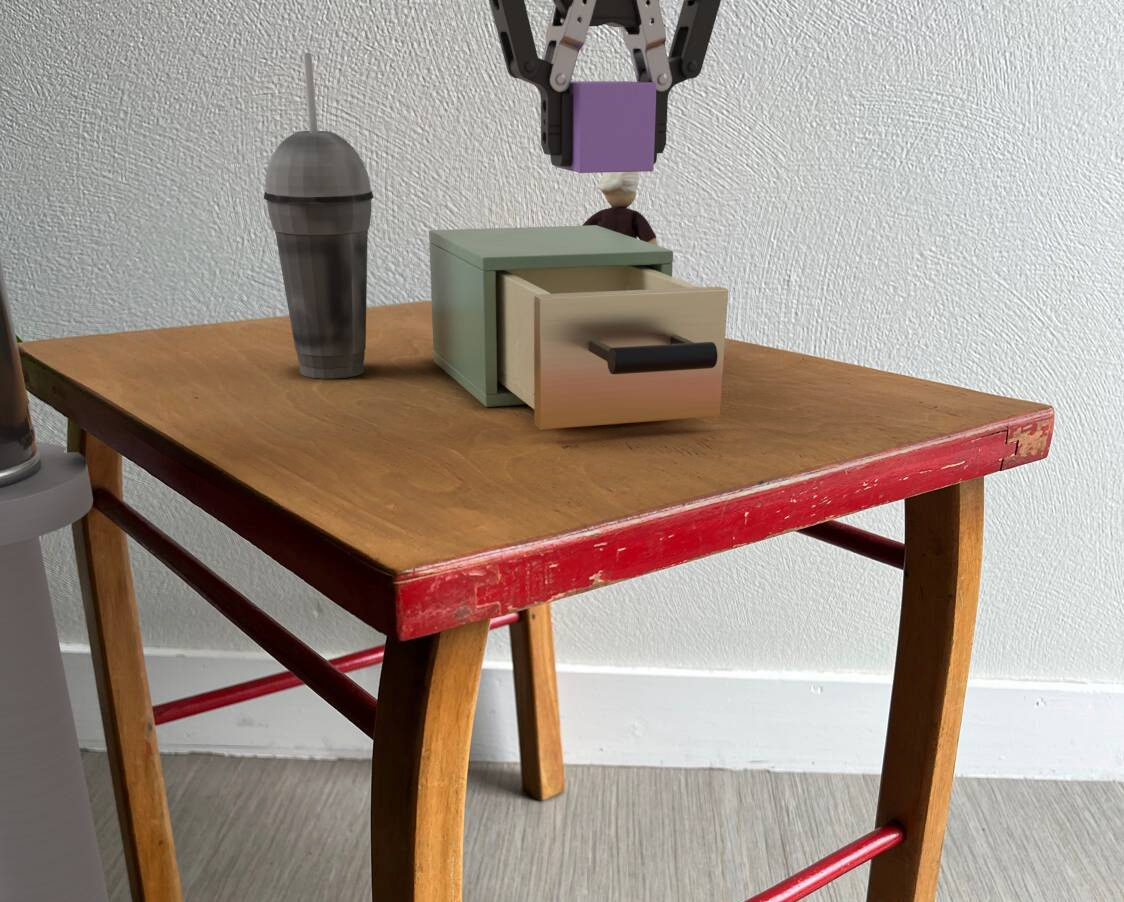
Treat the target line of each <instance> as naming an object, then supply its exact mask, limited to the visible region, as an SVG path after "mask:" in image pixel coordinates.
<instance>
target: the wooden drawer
mask: <svg viewBox="0 0 1124 902" xmlns="http://www.w3.org/2000/svg"><path fill="white" fill-rule="evenodd" d="M495 276H496V342H497V381H498V382H500V383H501V384H502V385H503V386H505V387H506V388H507V389H509V390H510V391H511V392H512V393H514V394H515V395H516V396H517V397H519V398H520V399H521V400H523V401H524V402H525V403H526V404H525V405H528V407H530V408H531V409H532V410H533V414H534V415H533V416H534V417H533V424H534V426H535V427H537V428H538V429H539V430H540V431H542V430H555V429H566V428H567V429H568V428H580V427H581V428H582V427H593V426H595V427H596V426H605V425H607V426H609V425H620V424H633V423H646V422H661V421H674V420H687V419H701V418H715V417H720V416H721V409H722V408H721V406H722V392H723V378H724V362H725V361H724V360H725V345H726V333H727V332H726V331H727V317H728V315H727V314H728V304H729V303H728V300H729V289H728V288H726V287H723V286H719V285H718V286H698V285H695V284H693V283H690V282H688V281H687V282H686V281H684V280H682V279H679V278H676V277H674V276H672V277H671V276H669V275H666V274H663V273H661V272H658V271H655V270H653V269H650V268H647V267H645V266H642V265H628V266H602V267H576V268H550V269H523V270H497V271H495Z"/></svg>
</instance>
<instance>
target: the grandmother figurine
mask: <svg viewBox="0 0 1124 902" xmlns="http://www.w3.org/2000/svg"><path fill="white" fill-rule="evenodd" d="M639 180H640V176H639V172H603V173H602V176H601V177H600V178H599V182H598V185H597V186H596V187H595V189H598V190H599V191H600V192H601V193H602V194H603V195H604V197H605V199H606V202H607V203H608V204H609V205H610V206H611V207H608V208H604V209H600V210H598V211H597V212H595V213H594V214H592V215H591V216H589V218H587V220H585V221H584V222H583V223H582V225H581V226H590V225H597V226H600V227H603V228H606V229H609V230H612V231H615V232H618V233H621V234H624V235H627V236H630V237H633V238H636V239H639V240H642V241H645V242H648V243H651V244H654V245H657V246H659V244H658V241H657V235H656V233H655V232H654V230H653V228H652V226H651V225H650V223H649V221H648V219H647V218H646V217H645V216H644V215H643V214H641V212H639V211H637V210H636V209H632V208H628V207H630V206H631V205H632V204H633V203H634V202H635V200H636V198H637V197H636V196H637V190H638V186H639Z"/></svg>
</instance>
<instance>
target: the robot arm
mask: <svg viewBox="0 0 1124 902" xmlns="http://www.w3.org/2000/svg"><path fill="white" fill-rule="evenodd" d="M721 1H722V0H683V1H682V5H681V9H680V12H679V16H678V20H677V23H676V27H675V30H674V35H673V38H672V41H671V45H670V49H669V52H668V53H667V48H666V41H667V33H666V29H665V24H664V20H663V19H664V18H663V15H662V10H661V6H660V5H661V4H660V0H552V2H553V5H552V8H551V13H550V17H549V21H548V25H547V27H546V32H545V37H544V40H545V45H544V48H543V49H544V50H543V54H542V57H541V58H540V57H539V54H538V52H537V47H536V44H535V38H534V35H533V31H532V26H531V23H530V19H529V14H528V10H527V5H526V2H525V0H488V2H489V5H490V9H491V13H492V16H493V17H492V18H493V21H494V25H495V28H496V33H497V36H498V40H499V44H500V48H501V51H502V52H501V53H502V55H503V60H504V63H505V67H506V71H507V73H508V74H509V76H510V77H512V78H513V79H517V80H522V81H524V82H527V83H529V84H531V85H533V86H535V88H536V89H537V90H538V92H539V95H540V96H539V97H540V146H541V148H542V152H543V154H544V155H548V156H550V163H551V165H552V166H554V167H555V166H558V167H570V166H571V165H572V161H573V94H569V85H570V83H571V81H572V78H573V75H574V71H575V68H576V64H577V61H578V57H579V54H580V51H581V49H582V48H583V47H584V45H585V42H586V40H587V35H588V32H589V29H590V27H601V26H603V25H605V26H608V27H611V28H620V30H621V34H622V39H623V42H624V45H625V47H626V49H627V50H628V51H629V55H630V59H631V63H632V67H633V71H634V75H635V80H636V82H652V83H656V111H655V140H654V165H656V164H657V160H658V154H663V153H664V151H665V148H666V145H667V134H668V133H667V132H668V131H667V130H668V126H667V125H668V109H669V108H668V106H669V94H670V92H671V90H672V89H673V88H674V87H675V86H676V85H678V84H681V83H682V82H684V81H688V80H690V79H691V80H693V79H696V78H697V77H698V76H699V75H700V74H701V73H702V72H701V71H702V69H703V65H704V62H705V58H706V55H707V51H708V48H709V44H710V41H711V38H712V34H713V31H714V26H715V23H716V20H717V15H718V12H719V9H720V6H721ZM1 254H2V253H0V487H4V486H8V485H11V484H13V483H16V482H19V481H22V480H24V479H26V478H28V477H30V476H32V475H34V474H35V473H36V472H38V471H39V470H40V468H41V459H40V453H39V449H38V447H37V446H36V442H37V441H36V433H35V427H34V425H33V421H32V415H31V411H30V405H29V399H28V395H27V394H28V393H27V389H26V388H27V387H26V384H25V378H24V377H25V376H24V372H23V368H22V362H21V356H20V351H19V346H18V340H17V333H16V329H15V324H14V319H13V313H12V309H11V303H10V298H9V292H8V287H7V286H8V285H7V282H6V276H5V271H4V265H3V260H2V256H1Z"/></svg>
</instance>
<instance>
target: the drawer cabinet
mask: <svg viewBox="0 0 1124 902" xmlns="http://www.w3.org/2000/svg"><path fill="white" fill-rule="evenodd" d="M428 241H429V267H430V268H429V270H430V296H431V321H432V326H431V327H432V347H433V349H432V351H433V362H434V363H435V364H436V365H437V366H438V367H439V368H441V369H442V370H443V371H444V372H445V373H446V374H447V375H448V376H450V377H451V378H452V379H453V380H455V382H457V384H459V385H460V386H461V387H463V389H464V390H466V391H467V392H468V393H469V394H471V395H472V396H473V397H474V398H475V400H477V401H479V402H480V403H481V404H482V405H483V406H484V407H486V408H493V407H495V408H496V407H506V406H507V407H508V406H509V407H510V406H522V405H527V404H526V403H525V402H524V401H523V400H521V399H520V398H519V397H517V396H516V395H515V394H514V393H512V392H511V391H510V390H509V389H507V388H506V387H505V386H503V385H502V384H501V383H500V382H498V381H497V342H496V276H495V271H497V270H523V269H550V268H576V267H602V266H628V265H642V266H645V267H647V268H650V269H653V270H655V271H658V272H661V273H663V274H666V275H669V276H671V277H673V268H674V267H673V264H674V250H672V249H668V248H665V247H663V246H659V245H658V246H657V245H654V244H651V243H648V242H645V241H642V240H640V239H639V238H637V239H636V238H633V237H630V236H627V235H624V234H621V233H618V232H615V231H612V230H609V229H606V228H603V227H600V226H597V225H590V226H582V225H562V226H561V225H560V226H527V227H492V228H487V227H486V228H457V229H454V228H453V229H429V230H428Z"/></svg>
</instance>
